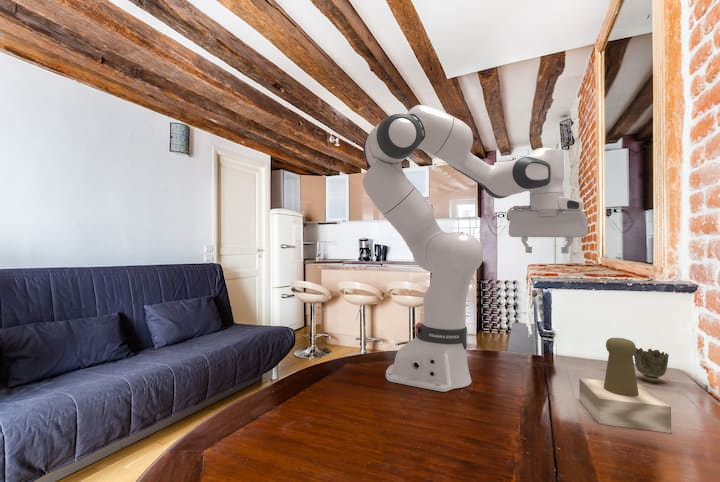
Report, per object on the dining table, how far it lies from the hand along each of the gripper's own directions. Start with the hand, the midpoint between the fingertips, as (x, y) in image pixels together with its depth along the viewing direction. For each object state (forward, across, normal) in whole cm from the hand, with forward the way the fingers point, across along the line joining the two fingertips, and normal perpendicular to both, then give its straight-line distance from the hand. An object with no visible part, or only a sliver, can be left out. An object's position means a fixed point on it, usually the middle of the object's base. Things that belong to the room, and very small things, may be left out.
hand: (546, 253), depth 101 cm
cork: (+29, +9, -24) cm, 39 cm away
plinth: (+34, +9, -24) cm, 43 cm away
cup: (+34, +26, +2) cm, 43 cm away
